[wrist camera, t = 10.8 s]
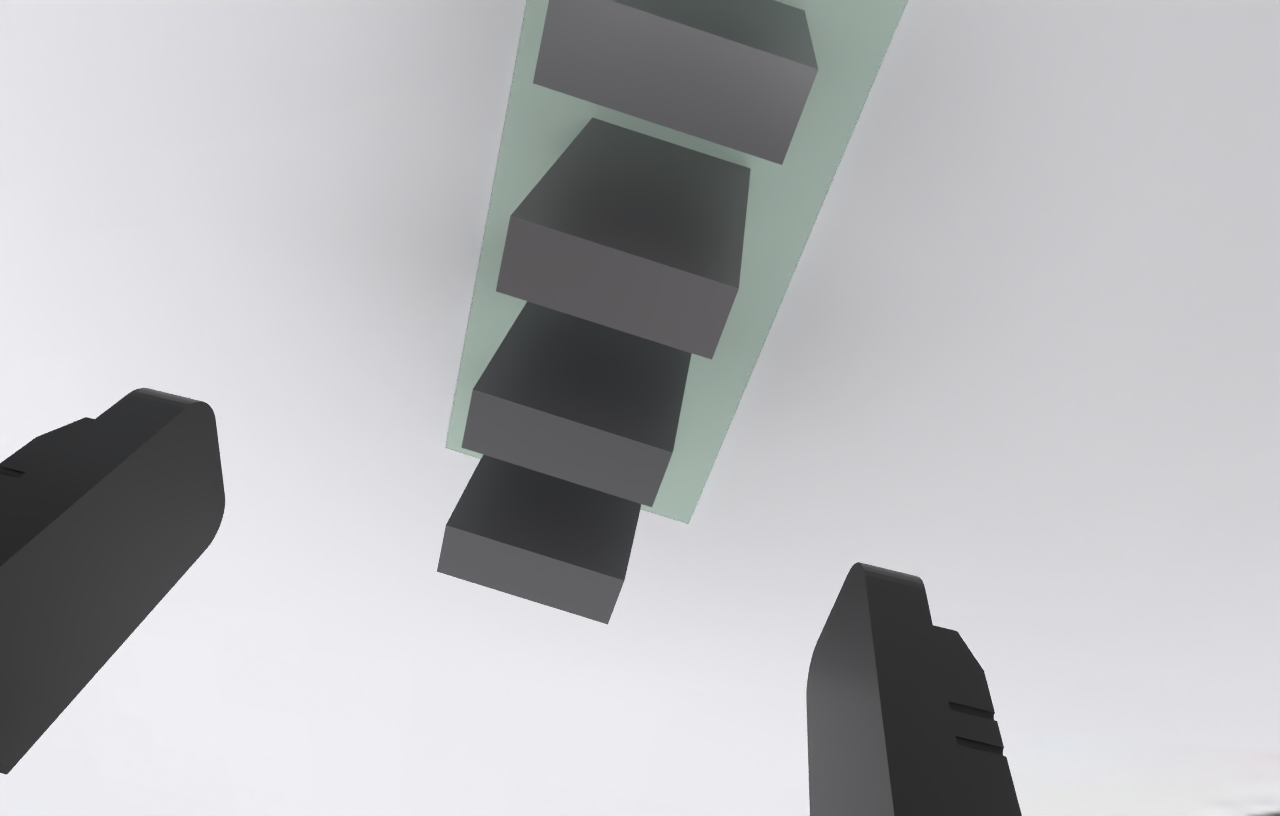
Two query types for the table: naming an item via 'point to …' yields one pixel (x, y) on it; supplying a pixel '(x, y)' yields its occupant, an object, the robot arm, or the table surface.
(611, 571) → the domino
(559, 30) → the domino
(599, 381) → the domino
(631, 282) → the domino
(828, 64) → the mat
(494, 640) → the table surface
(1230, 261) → the table surface
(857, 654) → the robot arm
